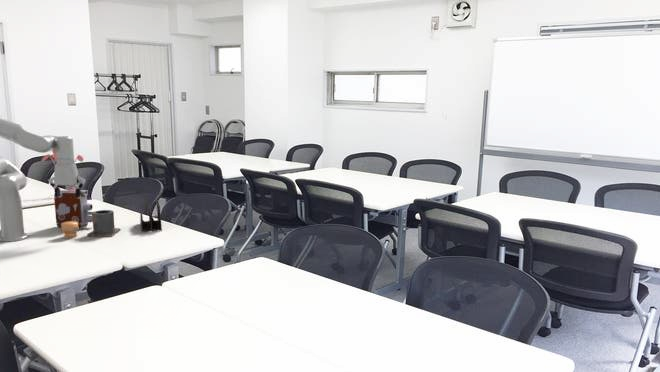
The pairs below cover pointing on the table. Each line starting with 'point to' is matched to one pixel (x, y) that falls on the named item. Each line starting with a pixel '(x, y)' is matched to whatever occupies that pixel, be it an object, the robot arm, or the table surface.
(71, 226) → the cap
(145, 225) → the letter holder
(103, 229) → the top hat
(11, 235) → the robot arm
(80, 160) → the pink flower
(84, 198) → the cine camera
